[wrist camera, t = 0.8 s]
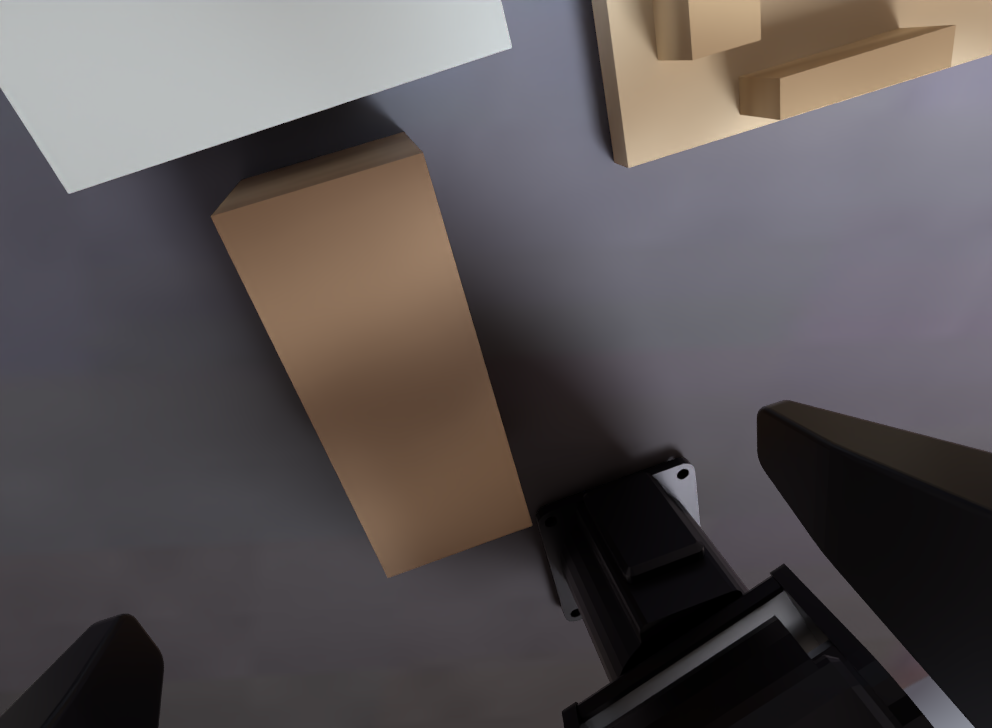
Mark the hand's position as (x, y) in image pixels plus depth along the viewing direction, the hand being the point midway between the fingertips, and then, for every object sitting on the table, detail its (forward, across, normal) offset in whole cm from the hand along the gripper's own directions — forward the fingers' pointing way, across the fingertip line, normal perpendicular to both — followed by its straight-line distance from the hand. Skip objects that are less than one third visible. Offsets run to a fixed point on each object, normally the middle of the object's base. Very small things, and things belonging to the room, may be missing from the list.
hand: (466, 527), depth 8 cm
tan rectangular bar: (+11, +1, +1) cm, 11 cm away
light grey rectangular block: (+11, +1, -8) cm, 14 cm away
